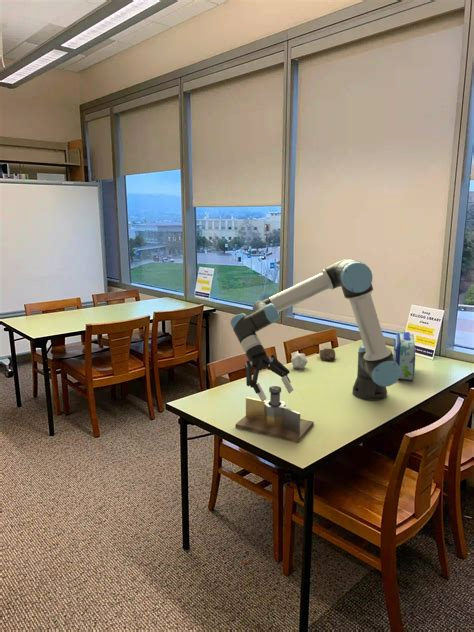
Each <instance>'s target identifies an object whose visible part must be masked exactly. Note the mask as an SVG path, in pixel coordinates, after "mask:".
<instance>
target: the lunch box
mask: <svg viewBox="0 0 474 632" xmlns="http://www.w3.org/2000/svg"><path fill="white" fill-rule="evenodd" d="M415 344H416V343H415V337H414V334H413V333H410V331H405V332H400V333H399V332H397V333H396V335H395V339H393V350H392V353H393V357H394V360H395V362H396V363H397V364H398V365H399V367H400V370H401V375H400V377H399V379H398V380H407V381H413V380H414V378H415V371H416V345H415Z"/></svg>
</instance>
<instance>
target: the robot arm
mask: <svg viewBox="0 0 474 632" xmlns="http://www.w3.org/2000/svg"><path fill="white" fill-rule="evenodd" d="M372 283H373V273H372V270H371V269H370V267H369V266H368V265H367V264H366V263H365V262H362V261H359V260H355V259H351V258H344V259H341V260H339V261H337V262H335V263H332V264H330V265H329V266H327V267H325V268H323V269H322V271H321V273H318V274H316V275H314V276H312V277H309V278H307V279H305V280H304V281H301V282H298V283H297V284H295V285H292V286H291V287H289V288H287V289H284V290H282V291H280V292H277V293H276V294H273V295H272V296H270V297H268V298H265V299H262V300H257V301H256V302H255V303H253V306H252V313H250V314H249V315H247V314H246V313H244V312H242V313H239V314H235V315H234V316H233V317H232V318H231V320H230V325H231V328H232V331H233V332H234V335H235V336H236V338H237V340H238V342H239V344H240V346H241V347H242V350H243V351H244V353H245V356H246V357H247V359H248V360H246V362H245V363H244V367H245V377H246V379H245V382H246V386H247V387H250V388H253V390H254V392H255V394H257V395H258V397H259V400H261V401H262V402H263V401H267V396H266V393H265V392H264V390H263V388H262V386H261V385H260V382H259V383H258V377H259V375H260V371H264V370H268V371H271V372H273V373H274V374H276V375H277V376H279V377H280V378H281V381H282V384H283V385H284V387H285V389H286V391H287V392H288V394H291V393H292V392H293V391H294V390H295V389H294V388H293V385H292V384H291V383H292V382H291V380H290V378H289V376H288V375H289V374H290V371H291V370H290V369H288V368H287V367H286V366H284V364H282V363H281V362H280V361H279V360H278V358H277V357H276V356H275V355H274V354H271V355H270V356H268V355H267V352H266V349H265V347H264V346H263V345H262V342H261V340H260V338H259V336H258V335H257V333H258V332H259V331H261V330H263V329H264V328H266V327H269V326H270V325H271V324H274V323H276V322H277V321H278V320H280V318H281V315H280V314H279V313H280V312H281V311H285V310H286V309H288V308H290V307H292V306H294V305H297V304H299V303H301V302H304V301H306V300H308V299H310V298H312V297H314V296H316V295H318V294H320V293H323V292H325V291H326V290H329V289H330V290H334V289H337V288H340V287H341V290H342V293H343V296H344V298H345V299H346V300H348V301H349V302H350V305H351V308H352V309H351V310H352V312H353V315H354V319H355V321H356V325H357V328H358V331H359V334H360V337H361V342H362V345H360V346H359V347H358V352H357V354H358V355H357V372H356V375H357V376H356V378H355V382H354V384H353V385H352V394H353V396H355V397H357V398H358V399H359V398H360V399H363V400H367V401H381V400H384V399H387V396H388V388H387V387H391V386H392V385H394V384H396V383H397V382H398V380H400V379H399V377H400V375H401V370H400V367H399V365H398V364H397V363H396V362H395V360H394V357H393V350H392V349H391V348H390V347H388V346H387V344H386V340H385V337H384V334H383V331H382V327H381V324H380V321H379V318H378V314H377V310H376V307H375V304H374V301H373V297H372V293H373V291H374V287H373V284H372ZM252 367H253V371H252ZM252 372H253V373H252Z"/></svg>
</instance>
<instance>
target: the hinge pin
mask: <svg viewBox="0 0 474 632" xmlns="http://www.w3.org/2000/svg"><path fill="white" fill-rule="evenodd" d="M268 391H269V394H270V399H269V400H270V405H271V406H280V400H281V393H282V387H281V386H278V385H277V386H276V385H273V386H270V387H269V389H268Z"/></svg>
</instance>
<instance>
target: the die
mask: <svg viewBox="0 0 474 632" xmlns="http://www.w3.org/2000/svg"><path fill="white" fill-rule="evenodd" d="M291 357H292V358H291V359H290V362H291V365H292V367H293V369H299V370H304V369H305V367H306V366H307V364H308V360H307V357H306V354H305V353H298V352H295V353H294V354H293V355H292V356H291Z"/></svg>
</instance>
